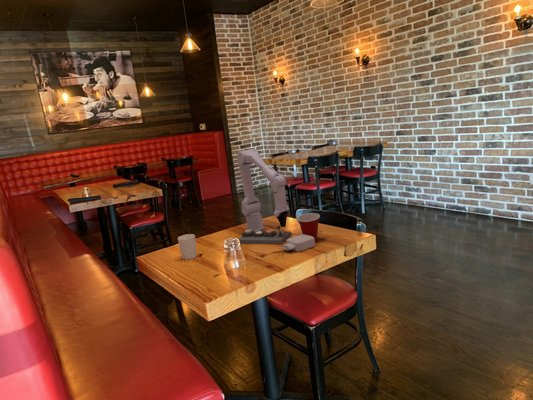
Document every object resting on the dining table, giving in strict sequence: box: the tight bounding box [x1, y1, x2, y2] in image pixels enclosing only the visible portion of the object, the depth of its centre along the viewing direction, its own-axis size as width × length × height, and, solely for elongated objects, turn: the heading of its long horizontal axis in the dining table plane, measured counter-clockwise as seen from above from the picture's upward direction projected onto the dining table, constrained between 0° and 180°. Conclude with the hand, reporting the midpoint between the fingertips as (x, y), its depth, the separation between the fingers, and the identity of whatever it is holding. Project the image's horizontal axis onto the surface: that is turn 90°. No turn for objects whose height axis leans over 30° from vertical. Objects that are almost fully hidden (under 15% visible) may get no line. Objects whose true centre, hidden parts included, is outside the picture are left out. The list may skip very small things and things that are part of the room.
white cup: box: [177, 233, 198, 261], centre depth 186 cm, size 8×8×10 cm
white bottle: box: [280, 234, 316, 253], centre depth 179 cm, size 5×9×15 cm
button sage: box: [244, 228, 251, 234], centre depth 202 cm, size 3×3×2 cm
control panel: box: [237, 230, 292, 245], centre depth 199 cm, size 14×24×4 cm, turn 67°
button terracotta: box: [265, 228, 274, 234], centre depth 197 cm, size 3×3×2 cm
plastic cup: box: [296, 212, 320, 242], centre depth 188 cm, size 11×11×12 cm
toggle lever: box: [276, 224, 283, 234], centre depth 193 cm, size 2×2×5 cm
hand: (283, 226), depth 198 cm, fingers closed
